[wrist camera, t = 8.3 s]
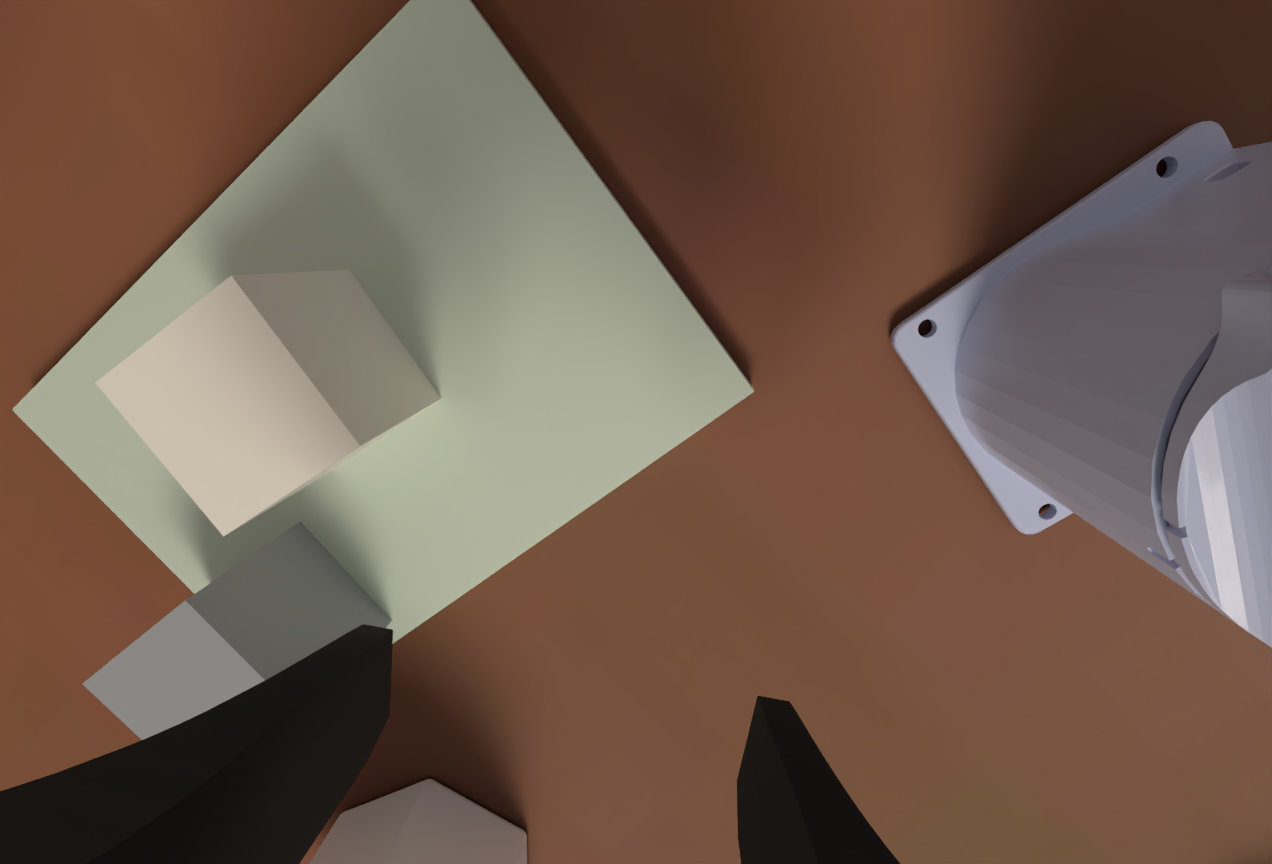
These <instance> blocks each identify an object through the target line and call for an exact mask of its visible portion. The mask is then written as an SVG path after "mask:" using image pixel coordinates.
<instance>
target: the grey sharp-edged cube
mask: <svg viewBox="0 0 1272 864" xmlns="http://www.w3.org/2000/svg"><path fill="white" fill-rule="evenodd" d="M391 621H392V620H391V619H390V618H389V617H388V615H387V614H386V613H385V612H384V611H383V610H382V609H381V608H380V607H379V606H378V605H377V604H376V603H375V601H374V600H373V599H372V598H371V597H370V596H369V595H368V594H367V593H366V592H365V591H364V590H363V589H362V587H361V586H360V585H359V584H358V583H357V582H356V581H355V580H354V579H353V578H352V577H351V576H350V575H349V573H348V572H347V571H346V570H345V569H344V568H343V567H342V566H341V565H340V564H339V563H338V562H337V560H336V559H335V558H334V557H333V556H332V555H331V554H330V553H329V552H328V551H327V550H326V549H325V548H324V546H323V545H322V544H321V543H320V542H319V541H318V540H317V539H316V538H315V537H314V536H313V535H312V534H311V532H310V531H309V530H308V529H307V528H306V527H305V526H304V525H303V524H302V523H301V522H299V523H297V524H296V525H294V526H293V527H291V528H290V529H288V530H287V531H285V532H284V533H283V534H281V535H280V536H278V537H277V538H275V539H274V540H272V541H271V542H269V543H268V544H267V545H265V546H264V547H262V548H261V549H259V550H258V551H256V552H255V553H253V554H252V555H251V556H249V557H248V558H246V559H245V560H243V561H242V562H240V563H239V564H238V565H236V566H235V567H233V568H232V569H230V570H229V571H227V572H226V573H224V574H223V575H222V576H220V577H219V578H217V579H216V580H214V581H213V582H211V583H210V584H208V585H207V586H206V587H204V588H203V589H201V590H200V591H198V592H197V593H195V594H194V595H192V596H191V597H190V598H188V599H187V600H185V601H184V602H183V603H182V604H180V605H179V606H178V607H177V608H175V609H174V610H173V611H172V612H170V613H169V614H168V615H167V616H165V617H164V618H163V619H162V620H161V621H159V622H158V623H157V624H156V625H154V626H153V627H152V628H151V629H149V630H148V631H147V632H146V633H144V634H143V635H142V636H141V637H140V638H138V639H137V640H136V641H135V642H133V643H132V644H131V645H130V646H128V647H127V648H126V649H125V650H123V651H122V652H121V653H120V654H119V655H117V656H116V657H115V658H114V659H112V660H111V661H110V662H109V663H107V664H106V665H105V666H104V667H102V668H101V669H100V670H99V671H98V672H96V673H95V674H94V675H93V676H91V677H90V678H89V679H88V680H86V681H85V682H84V683H83V685H84V686H85V687H86V688H87V689H88V690H89V691H90V692H91V693H92V694H93V695H94V696H96V697H97V698H98V699H99V700H100V701H101V702H102V703H103V704H104V705H105V706H106V707H107V708H108V709H109V710H111V711H112V712H113V713H114V714H115V715H116V716H117V717H118V718H119V719H120V720H121V721H122V722H123V723H124V724H125V725H127V726H128V727H129V728H130V729H131V730H132V731H133V732H134V733H135V734H136V735H137V736H138V737H139V738H140V739H141V740H144V739H146V738H148V737H151V736H153V735H155V734H158V733H160V732H162V731H164V730H167V729H169V728H171V727H174V726H176V725H178V724H180V723H182V722H184V721H187V720H189V719H191V718H193V717H195V716H197V715H199V714H201V713H203V712H205V711H208V710H210V709H211V708H213V707H215V706H217V705H219V704H221V703H223V702H225V701H227V700H229V699H231V698H232V697H234V696H236V695H238V694H240V693H242V692H244V691H246V690H248V689H250V688H252V687H254V686H255V685H257V684H259V683H261V682H263V681H265V680H267V679H269V678H270V677H272V676H274V675H276V674H277V673H279V672H281V671H282V670H284V669H286V668H288V667H289V666H291V665H293V664H295V663H296V662H298V661H300V660H302V659H303V658H305V657H307V656H309V655H310V654H312V653H314V652H315V651H317V650H319V649H321V648H322V647H324V646H326V645H327V644H329V643H331V642H332V641H334V640H336V639H337V638H339V637H341V636H343V635H344V634H346V633H348V632H350V631H351V630H353V629H355V628H357V627H359V626H360V625H362V624H365V625H371V626H376V627H382V628H386V627H387V626H388V625H389V623H390V622H391Z"/></svg>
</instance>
